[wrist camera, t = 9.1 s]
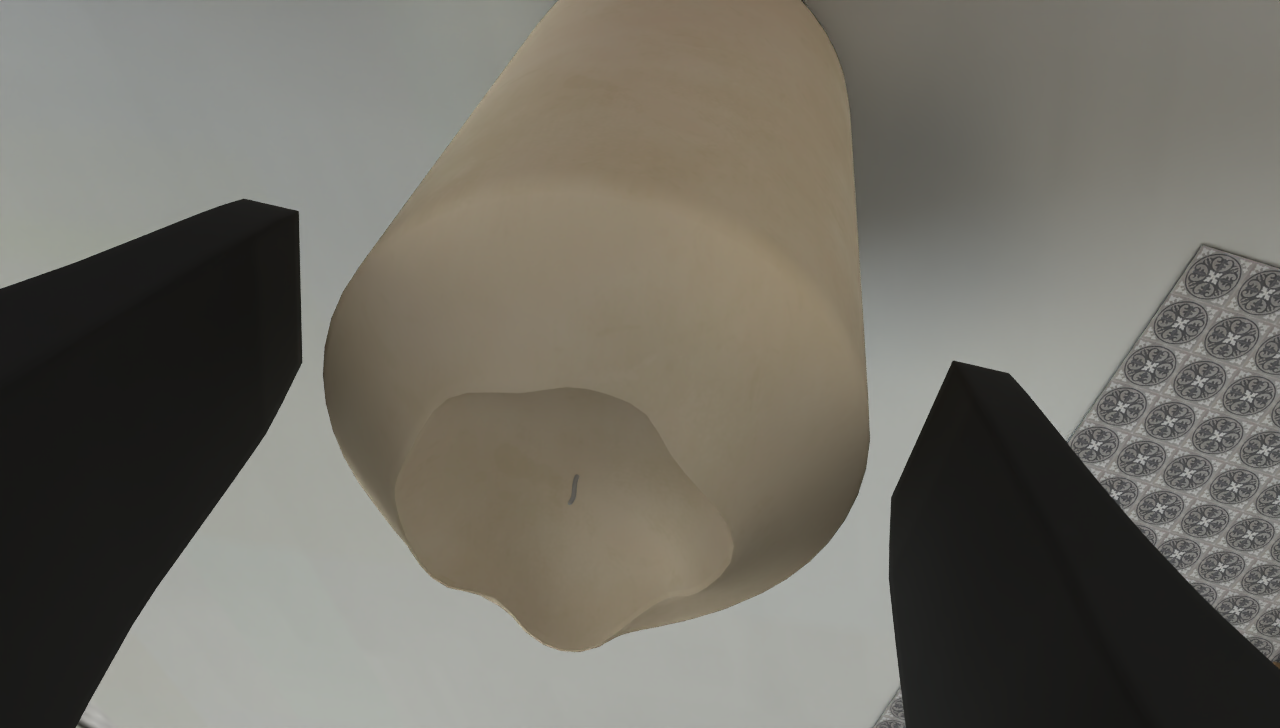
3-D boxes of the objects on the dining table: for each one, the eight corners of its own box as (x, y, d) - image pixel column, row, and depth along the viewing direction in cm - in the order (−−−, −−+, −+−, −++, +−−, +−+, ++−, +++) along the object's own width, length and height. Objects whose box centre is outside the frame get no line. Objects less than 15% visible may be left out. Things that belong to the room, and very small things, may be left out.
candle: (876, -44, 15) (938, 312, 7) (823, 274, 18) (826, 768, 10) (515, -70, 16) (197, 234, 8) (525, 243, 19) (306, 691, 11)
